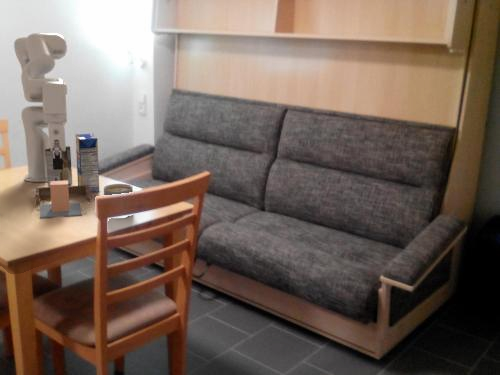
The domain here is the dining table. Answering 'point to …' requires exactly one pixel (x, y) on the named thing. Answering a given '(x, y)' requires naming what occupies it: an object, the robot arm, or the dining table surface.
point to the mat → (47, 211)
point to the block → (59, 196)
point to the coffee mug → (117, 189)
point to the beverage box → (87, 161)
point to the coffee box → (59, 174)
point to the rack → (73, 190)
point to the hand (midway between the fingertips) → (58, 165)
